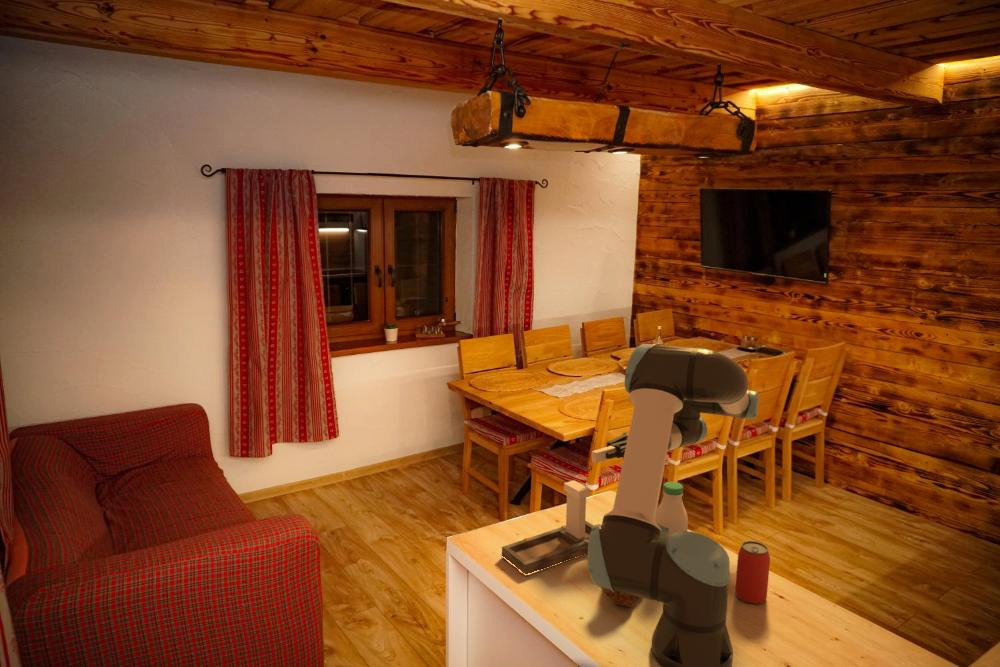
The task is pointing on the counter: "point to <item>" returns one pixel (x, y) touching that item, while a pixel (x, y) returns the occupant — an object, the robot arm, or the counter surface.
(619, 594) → the stuffed squirrel
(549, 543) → the fader rail
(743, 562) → the beer can
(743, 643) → the counter surface
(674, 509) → the milk bottle
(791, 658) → the counter surface
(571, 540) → the fader knob
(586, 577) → the counter surface
